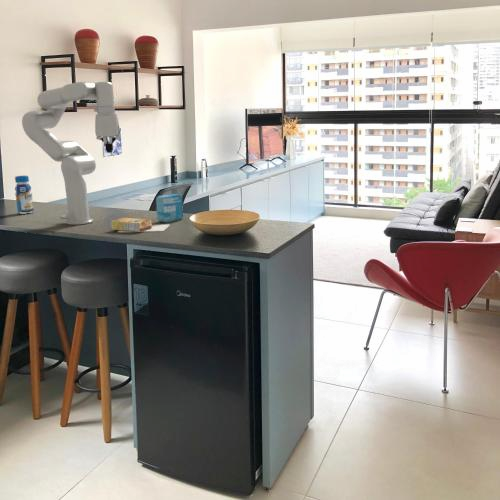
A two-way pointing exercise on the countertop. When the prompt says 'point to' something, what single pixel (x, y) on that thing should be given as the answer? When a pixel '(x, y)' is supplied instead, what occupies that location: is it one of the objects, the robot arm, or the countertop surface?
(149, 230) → the felt mat
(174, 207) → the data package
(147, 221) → the candy box
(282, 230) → the countertop surface
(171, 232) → the countertop surface
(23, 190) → the beverage bottle
